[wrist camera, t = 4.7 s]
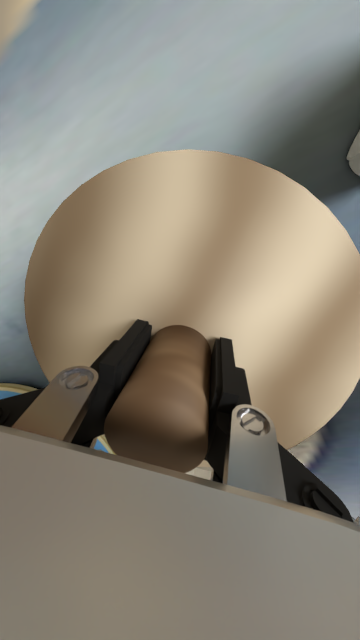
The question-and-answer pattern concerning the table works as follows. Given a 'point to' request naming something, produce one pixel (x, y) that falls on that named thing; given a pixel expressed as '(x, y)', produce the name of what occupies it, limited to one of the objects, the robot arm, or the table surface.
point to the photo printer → (355, 155)
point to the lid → (199, 296)
